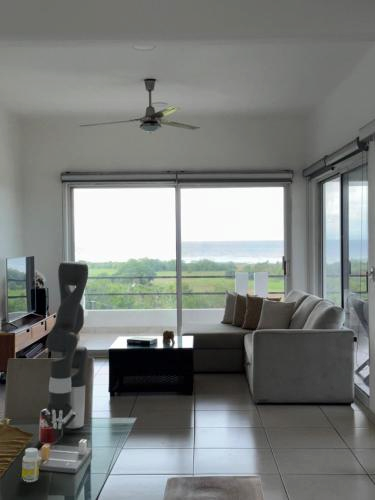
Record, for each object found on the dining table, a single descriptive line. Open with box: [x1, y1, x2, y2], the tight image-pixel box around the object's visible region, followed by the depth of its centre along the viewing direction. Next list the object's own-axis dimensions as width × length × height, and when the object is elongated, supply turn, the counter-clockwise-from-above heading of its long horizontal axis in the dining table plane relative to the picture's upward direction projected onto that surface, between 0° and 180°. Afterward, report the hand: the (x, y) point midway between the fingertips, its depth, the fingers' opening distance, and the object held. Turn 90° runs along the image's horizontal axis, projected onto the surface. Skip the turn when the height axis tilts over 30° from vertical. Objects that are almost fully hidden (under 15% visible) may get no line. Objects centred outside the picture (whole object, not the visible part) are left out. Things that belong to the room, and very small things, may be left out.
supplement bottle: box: [21, 447, 40, 483], centre depth 192 cm, size 5×5×10 cm
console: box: [37, 444, 93, 474], centre depth 210 cm, size 20×18×2 cm
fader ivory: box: [78, 438, 88, 455], centre depth 213 cm, size 3×2×5 cm, turn 174°
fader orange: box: [40, 444, 50, 461], centre depth 206 cm, size 3×2×5 cm, turn 174°
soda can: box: [38, 408, 59, 445], centre depth 228 cm, size 7×7×12 cm
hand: (57, 438), depth 206 cm, fingers closed
